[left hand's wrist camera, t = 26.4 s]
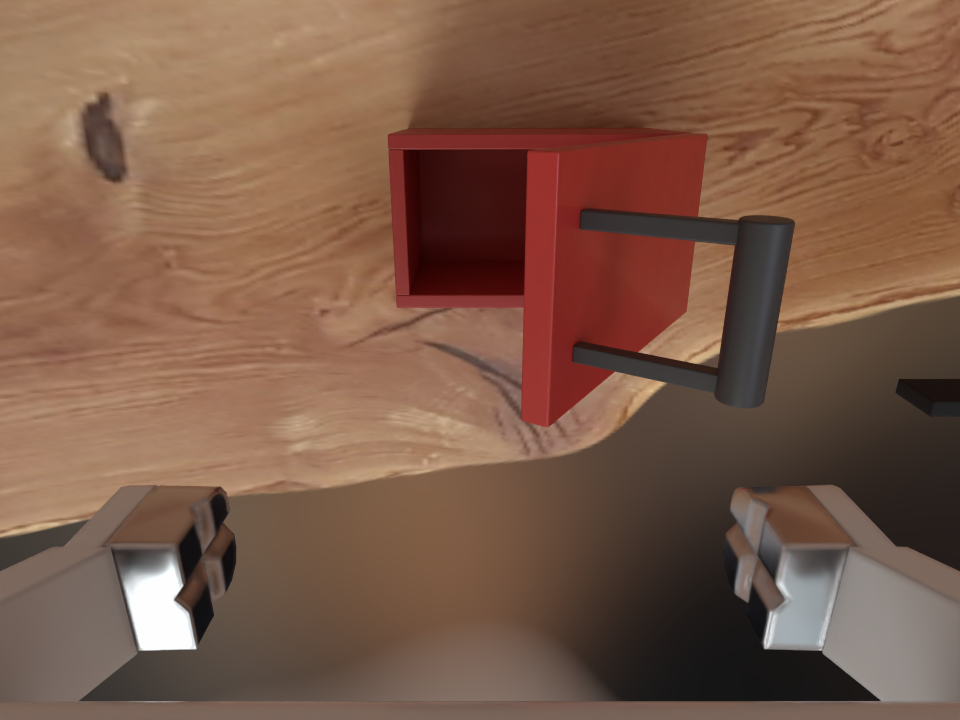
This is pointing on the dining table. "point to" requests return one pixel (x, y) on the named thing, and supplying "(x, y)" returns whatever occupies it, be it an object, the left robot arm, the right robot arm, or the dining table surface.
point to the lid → (636, 273)
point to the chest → (469, 210)
